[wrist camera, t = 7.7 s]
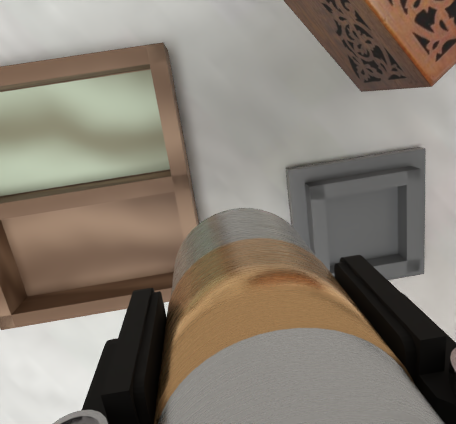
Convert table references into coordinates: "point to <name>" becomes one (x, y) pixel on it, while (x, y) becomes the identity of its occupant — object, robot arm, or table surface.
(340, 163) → the tester cradle
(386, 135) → the table surface
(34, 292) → the wooden divided tray
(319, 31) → the tissue box cover
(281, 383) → the cell
